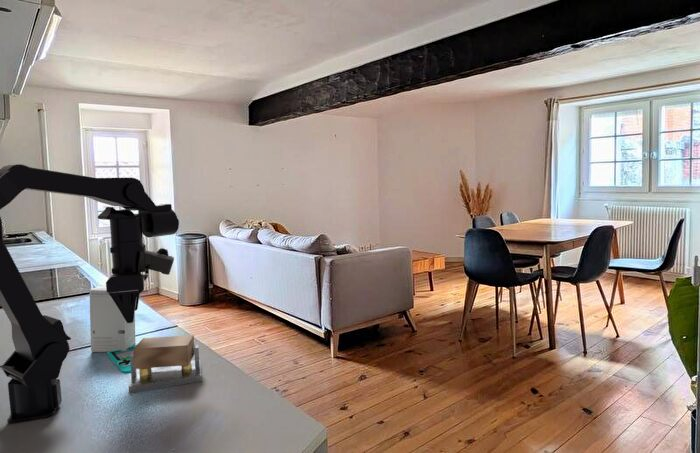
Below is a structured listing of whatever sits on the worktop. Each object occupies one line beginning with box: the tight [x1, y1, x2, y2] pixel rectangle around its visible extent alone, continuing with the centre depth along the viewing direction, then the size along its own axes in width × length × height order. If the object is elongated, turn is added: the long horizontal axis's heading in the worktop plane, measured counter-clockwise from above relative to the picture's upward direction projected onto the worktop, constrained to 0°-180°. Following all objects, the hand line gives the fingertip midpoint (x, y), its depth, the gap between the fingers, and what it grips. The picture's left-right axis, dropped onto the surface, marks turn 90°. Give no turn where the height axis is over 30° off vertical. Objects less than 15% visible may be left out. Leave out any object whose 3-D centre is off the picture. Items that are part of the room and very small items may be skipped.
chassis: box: [128, 344, 203, 394], centre depth 92 cm, size 13×9×6 cm
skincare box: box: [89, 284, 136, 353], centre depth 109 cm, size 8×6×15 cm
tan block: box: [132, 334, 195, 369], centre depth 91 cm, size 10×6×4 cm, turn 98°
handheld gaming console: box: [107, 344, 137, 374], centre depth 103 cm, size 8×1×15 cm
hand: (132, 316), depth 93 cm, fingers open, 9 cm apart
